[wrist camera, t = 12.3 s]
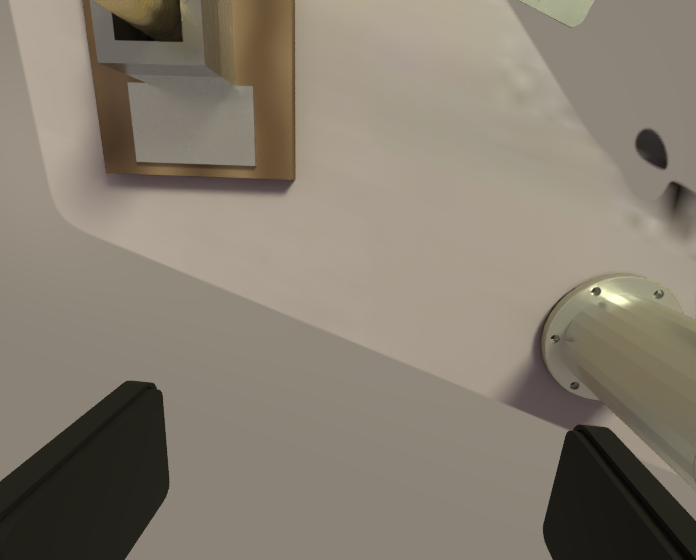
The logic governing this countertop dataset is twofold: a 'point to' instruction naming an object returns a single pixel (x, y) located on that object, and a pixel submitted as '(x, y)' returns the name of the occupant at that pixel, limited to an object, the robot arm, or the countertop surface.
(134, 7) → the hinge pin
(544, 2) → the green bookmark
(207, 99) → the grey stepped block
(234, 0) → the walnut board
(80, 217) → the countertop surface
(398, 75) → the countertop surface
